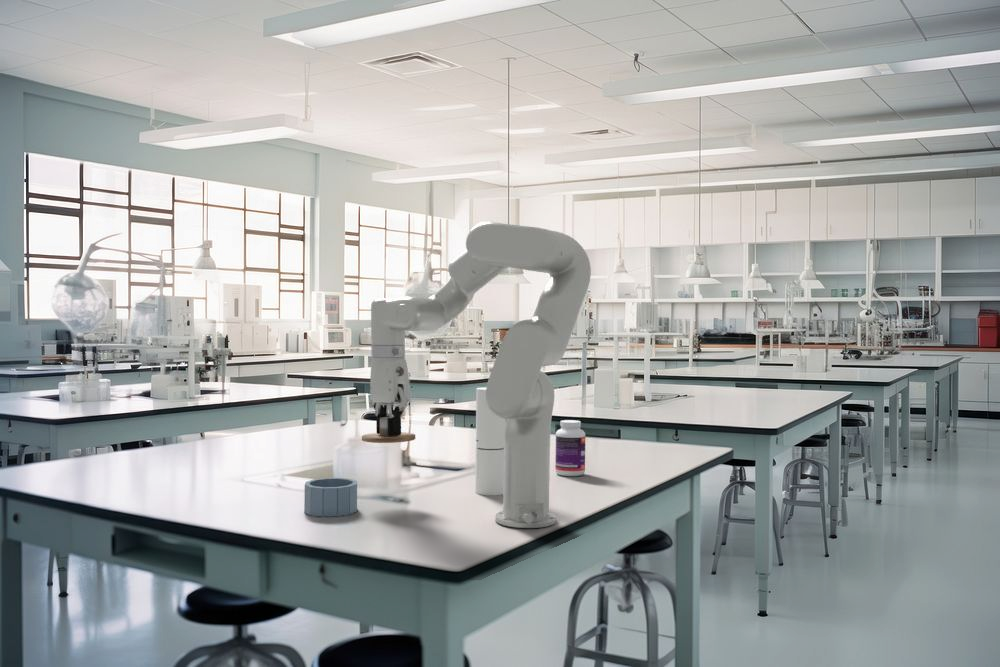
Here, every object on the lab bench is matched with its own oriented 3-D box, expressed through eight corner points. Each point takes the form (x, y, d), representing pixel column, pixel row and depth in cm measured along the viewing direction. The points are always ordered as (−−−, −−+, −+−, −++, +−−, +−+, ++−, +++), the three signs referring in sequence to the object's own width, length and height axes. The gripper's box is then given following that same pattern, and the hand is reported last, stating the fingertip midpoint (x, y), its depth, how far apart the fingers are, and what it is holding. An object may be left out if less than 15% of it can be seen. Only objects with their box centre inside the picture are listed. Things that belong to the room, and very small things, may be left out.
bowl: (356, 516, 172) (357, 487, 172) (303, 517, 171) (303, 488, 170) (357, 504, 183) (357, 477, 183) (306, 505, 181) (306, 478, 181)
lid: (415, 442, 180) (415, 420, 180) (360, 443, 179) (360, 421, 179) (415, 435, 192) (414, 414, 192) (363, 436, 190) (362, 415, 190)
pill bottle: (586, 477, 218) (587, 423, 217) (556, 477, 218) (557, 423, 217) (583, 471, 226) (584, 419, 225) (554, 471, 226) (554, 419, 225)
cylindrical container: (498, 488, 202) (499, 387, 202) (509, 494, 196) (510, 389, 195) (471, 490, 200) (472, 387, 199) (481, 496, 193) (482, 390, 193)
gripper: (422, 353, 181) (423, 436, 181) (383, 352, 194) (383, 429, 194) (393, 354, 176) (394, 439, 176) (354, 352, 189) (355, 432, 189)
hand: (388, 433), depth 185 cm, fingers closed on lid, 4 cm apart
